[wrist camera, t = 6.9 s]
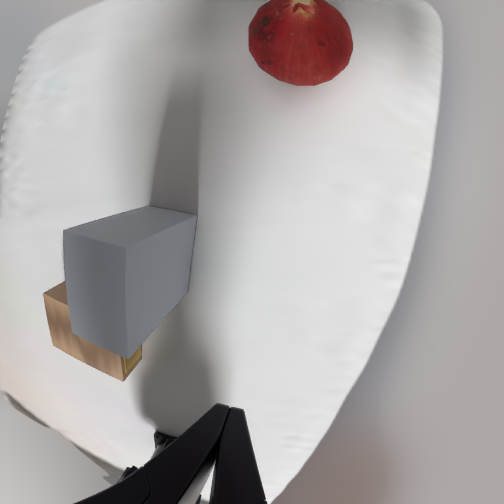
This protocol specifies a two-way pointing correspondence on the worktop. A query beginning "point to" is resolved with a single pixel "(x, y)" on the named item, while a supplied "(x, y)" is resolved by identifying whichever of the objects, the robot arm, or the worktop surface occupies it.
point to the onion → (300, 41)
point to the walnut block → (79, 346)
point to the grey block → (127, 274)
